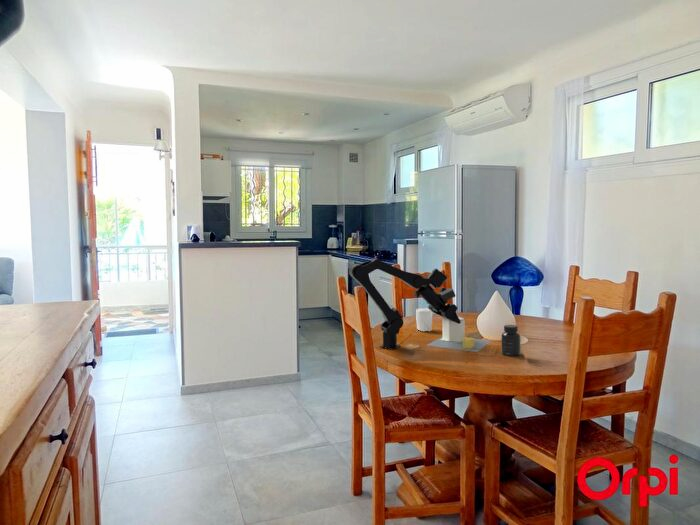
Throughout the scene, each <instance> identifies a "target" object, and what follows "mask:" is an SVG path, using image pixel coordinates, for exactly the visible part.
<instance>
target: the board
mask: <svg viewBox="0 0 700 525" xmlns="http://www.w3.org/2000/svg"><path fill="white" fill-rule="evenodd" d="M491 342H492V340H489V339H481V338H480V339H479V338H475V337H467V336H465V338H463V340H460V341H448V340H446V339H444V338H442V336H441V337H439V338H437V339H435V340H433V341H431V342H430V343H428V344H427V345H426V346H428V347H435V348H442V349H448V350H449V349H450V350H457V351H458V350H459V351H468V352H475V353H478V352H479V351H481V350H482V349H484V348H485V347H486V346H487V345H488V344H490V343H491Z"/></svg>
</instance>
